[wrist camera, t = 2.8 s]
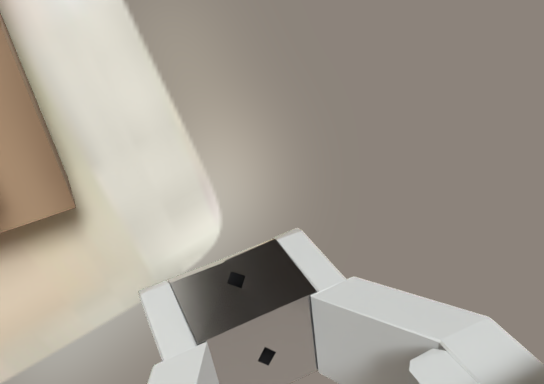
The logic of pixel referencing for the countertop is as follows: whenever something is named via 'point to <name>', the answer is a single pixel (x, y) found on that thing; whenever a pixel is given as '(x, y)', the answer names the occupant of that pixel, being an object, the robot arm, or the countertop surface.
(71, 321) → the countertop surface
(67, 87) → the countertop surface
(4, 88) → the bench plate
